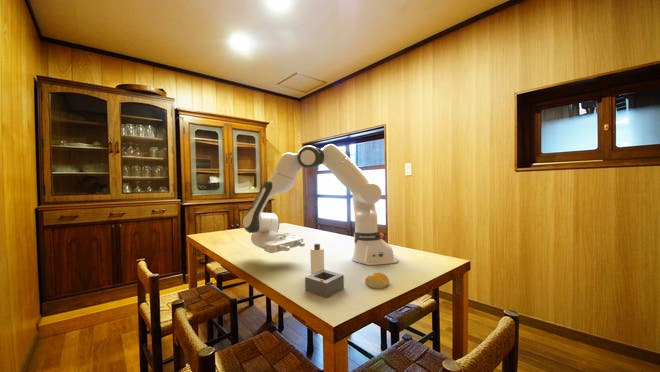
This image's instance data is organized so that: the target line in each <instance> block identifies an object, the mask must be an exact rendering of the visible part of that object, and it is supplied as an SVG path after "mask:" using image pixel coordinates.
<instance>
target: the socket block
mask: <svg viewBox="0 0 660 372" xmlns="http://www.w3.org/2000/svg"><path fill="white" fill-rule="evenodd" d="M304 285H305V286H304V288H305V291H306V292H307V293H311V294H314V295H317V296H320V297H323V298H324V299H328V298H329V297H331V296H333V295H335V294H336V293H338V292H339V291H342V290H344V288H345V275H344V274H341V273H338V272H334V271H330V270H326V269H324V270H320V271H318V272H316V273H313V274H311V273H310V274H308V275H306V276H304Z"/></svg>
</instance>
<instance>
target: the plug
mask: <svg viewBox="0 0 660 372" xmlns="http://www.w3.org/2000/svg"><path fill="white" fill-rule="evenodd" d="M309 250H310V275H311V274H313V273H316V272H318V271H320V270H325V249H324V248H321V244H320V243H314V244H313V248H310V249H309Z"/></svg>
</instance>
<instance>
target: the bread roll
mask: <svg viewBox="0 0 660 372" xmlns="http://www.w3.org/2000/svg"><path fill="white" fill-rule="evenodd" d="M364 282H365V284H366V286H368V288H372V289H384V288H386V287H387V286H389V284H390V278H389V277H388V276H387V275H386V274H385V273H382V272H374V273H372V274H371V275H368V276H367V277H365V280H364Z"/></svg>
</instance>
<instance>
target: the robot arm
mask: <svg viewBox="0 0 660 372" xmlns="http://www.w3.org/2000/svg"><path fill="white" fill-rule="evenodd" d="M320 165H324V166H325V167H326V168H327V169H328V170H329V171H330V172H331V174H333V175H334V176H335V177H336V179H337V180H338V181H339V182H340V183H341V184H342V185H343V186H344V187H346V188H347V189H348V190H349V191H350V192H351V193H352V204H353V211H354V233H353V241H354V248H353V253H352V258H351V259H352V260H353V261H354V262H356V263H359V264H364V265H367V266H375V265H385V264H387V265H388V264H397V263H398V262H399V257H398V256H396V255H395V254H394V250H393V247H392V246H391V245H390V244H389V243H388V242H386V241H385V240H384V239H383V238H384V237H385V235H384V233H383V232H380V231H379V230H378V213H377V210H376V206H375V205H376V203H378V202H379V201H380V200H381V197H382V190H381V188H380V186H379V185H378V184H377V183H376V182H374V180H372V179H371V177H370V176H368V175H367V174H366V173H365V172H363V171H362V170H361V168H359V167H358V166H357V165H356V164H355V163H354V161H353V160H351V159H350V157H349V156H348V155H347V154H346V153H345V152H344V151H343V150H342V149H341V148H339V147H338V146H337V145H335V144H333V143H329V144H326V145H324V147H322V148H319V147H316V146H314V145H304V146H303V147H301V148H300V149H299V150H298V152H297V153H293V152H285V153H283V154H282V155H281V157H280V159H279V160H278V162H277V165H276V167H275V169H274V172H273V173H272V175H271V177H270V178H269V179H267V181H266V182H264V183H263V185H261V187H260V189H259V191H258V193H257V194H256V197H255V199H254V200H253V202H252V204H251V206H250V208H249V209H248V211H247V212H246V213H245V215H244V216H243V218H242V226H243V228H244V230H245V231H246V232H248V233H249V234H251V236H250V241H251V243H252V244H253V245H254V246H255V247H257V248H259V249H263V250H264V252H266V253H268V254H274V253H279V252H288V251H290V249H293V248H297V247H301V248H302V247H303V248H304V247H305V245H306V244H305V242H304V237H302V236H300V235H295V234H291V233H289V232H287V233H281V232H279V229H280V219H279V217H278V215H277V214H276V213H275V212H263V211H264V209H265V207H266V205H267V203H268V201H269V200H270V199H271V198H273V197H274V196H276V195H279V194H280V195H281V194H284V193H287V192H289V191H290V190H291V189H292V188H293V186H294V184H295V182H296V179H297V176H298V174H299V172H300V170H301V169H302V168H304V169H314V168H316V167H318V166H320ZM352 260H351V261H352Z"/></svg>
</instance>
